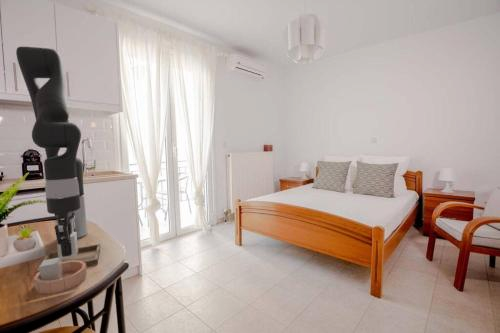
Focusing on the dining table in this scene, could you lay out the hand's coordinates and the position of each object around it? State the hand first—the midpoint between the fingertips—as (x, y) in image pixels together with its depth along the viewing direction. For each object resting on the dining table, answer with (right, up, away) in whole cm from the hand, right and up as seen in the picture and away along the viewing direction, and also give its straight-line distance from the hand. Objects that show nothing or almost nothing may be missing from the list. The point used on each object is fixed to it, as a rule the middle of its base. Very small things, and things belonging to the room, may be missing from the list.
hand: (68, 252), depth 71 cm
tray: (-8, -7, +12) cm, 16 cm away
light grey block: (-4, -8, -1) cm, 9 cm away
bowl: (-2, -9, 0) cm, 9 cm away
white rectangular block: (0, -1, 0) cm, 1 cm away
